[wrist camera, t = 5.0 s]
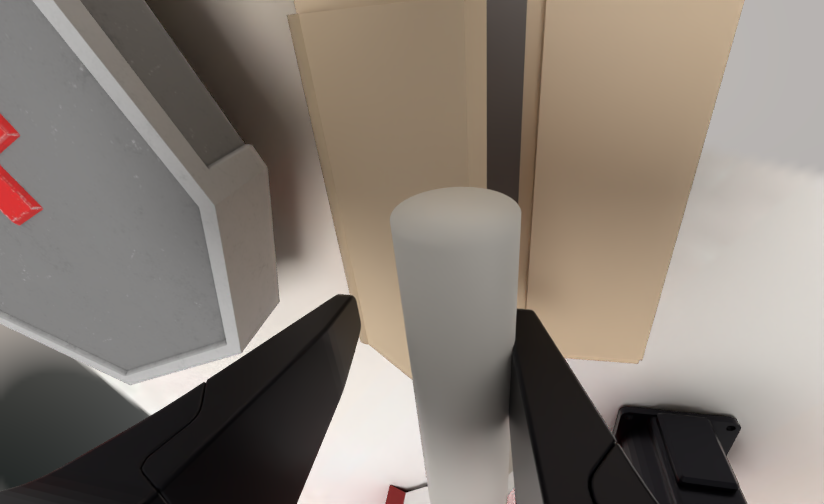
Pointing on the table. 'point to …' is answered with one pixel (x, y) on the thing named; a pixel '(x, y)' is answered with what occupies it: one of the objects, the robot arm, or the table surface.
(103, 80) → the first aid kit
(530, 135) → the carton
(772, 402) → the table surface
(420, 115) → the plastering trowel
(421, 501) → the book
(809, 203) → the table surface
